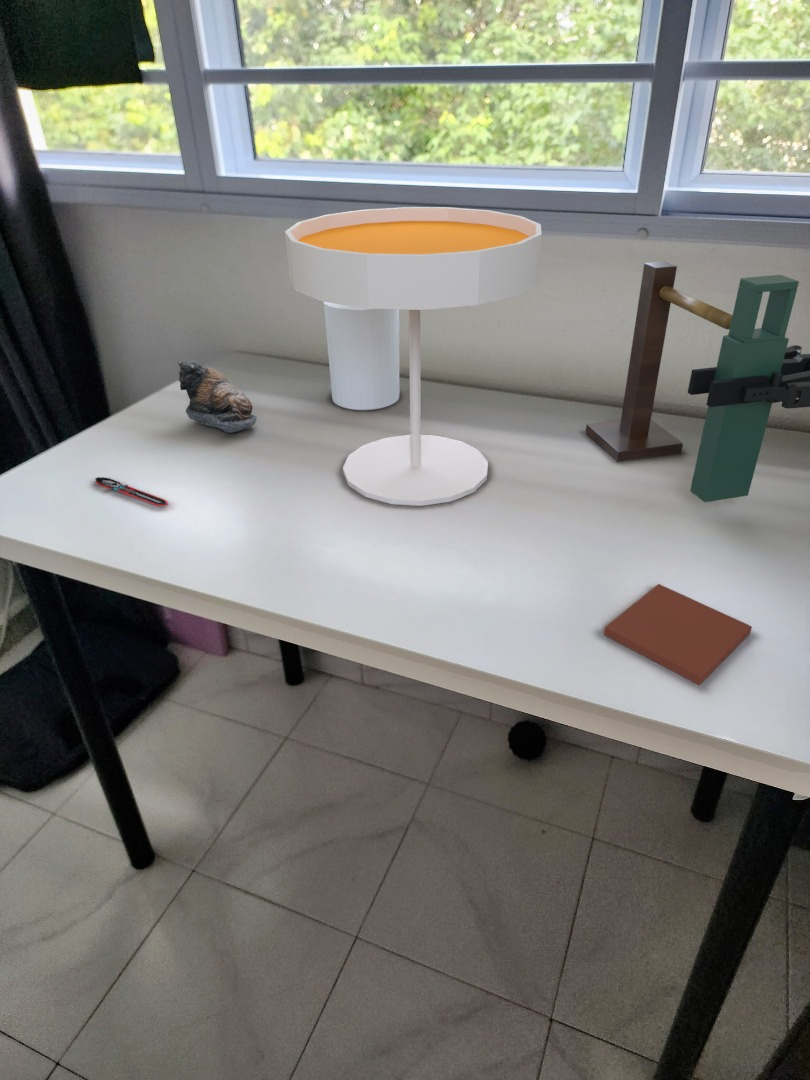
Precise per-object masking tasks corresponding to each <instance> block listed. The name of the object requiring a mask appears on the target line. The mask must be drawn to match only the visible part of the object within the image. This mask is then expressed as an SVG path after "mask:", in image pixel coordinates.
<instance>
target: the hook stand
mask: <svg viewBox="0 0 810 1080" xmlns="http://www.w3.org/2000/svg"><path fill="white" fill-rule="evenodd" d="M677 269H678V266H677V265H675V264H672V263H669V262H668V261H665V260H663V261H651V262H650V261H649V262H643V269H642V276H641V282H640V288H639V289H640V290H639V295H638V303H637V309H636V316H635V322H634V323H635V324H634V329H633V335H632V336H633V337H632V341H631V349H630V357H629V363H628V370H627V377H626V383H625V389H624V398H623V403H622V410H621V416H620V419H616V420H606V421H600V422H591V423H586V426H585V434H586V435H587V436H588V437H589V438H591V439H592V440H593V441H594V442H595V444H597V445H598V446H599V447H601V448H602V449H603V450H604V451H605V452H606V453H607V454H608V455H609V456H611V457H612V459H614V460H615V461H616V462H624V461H632V460H639V459H646V458H653V457H660V456H661V457H662V456H667V455H676V454H681V453H682V451H683V446H684V442H682V441H681V440H679V439H678V438H677V437H675V435H672V434H671V433H670V432H668V430H666V429H665V428H664V427H662V426H661V425H660V424H659V423H657V422H655V421H654V420H652V416H653V415H652V414H653V409H654V402H655V397H656V392H657V385H658V381H659V380H658V379H659V374H660V369H661V364H662V363H661V362H662V358H663V357H662V356H663V350H664V346H665V345H664V344H665V339H666V333H667V328H668V323H669V316H670V310H671V305H675V306H677V307H679V308H681V309H683V310H686V311H687V312H689V313H691V314H693V315H696V316H697V317H700V318H702V319H704V320H706V321H708V322H710V323H711V324H714V325H716V326H718V327H720V328H722V329H724V330H729V329H730V325H731V320H732V316H733V314H732V313H729V312H726V311H724V310H722V309H720V308H717V307H715V306H713V305H711V304H709V303H706V302H705V301H702V300H700V299H698V298H695V297H693V296H691V295H688V294H687V293H684V292H682V291H680V290H677V289H675V288H674V287H675V280H676V275H677V271H678V270H677Z"/></svg>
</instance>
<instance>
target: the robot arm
mask: <svg viewBox="0 0 810 1080" xmlns="http://www.w3.org/2000/svg"><path fill="white" fill-rule="evenodd" d="M802 348H803V347H802V346H800V345H798V344H795V345H790V346H787V348H786V352H785V356H784V360H783V364H782V368H781V371H780V373H777V372H776V373H775V371H774V372H773V373H772V377H771V381H770V383H767V382H768V378H769V377H767V376H765V375H760V376H752V377H743V378H734V379H725V380H716V381H714V377H715V372H716V368H717V366H712V367H704V368H695V369H691V373H690V377H689V383H688V388H687V394H688V395H691V396H695V395H704V394H705V395H706V394H708V395H707V400H706V403H705V404H706V406H707V407H708V406H709V407H717V406H725V405H733V404H741V403H749V402H757V401H763V400H766V401H767V402H770V403H772V404H776V403H781V407H782V408H784V409H800V408H802V409H803V408H810V353H802Z"/></svg>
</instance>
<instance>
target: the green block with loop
mask: <svg viewBox="0 0 810 1080" xmlns="http://www.w3.org/2000/svg"><path fill="white" fill-rule="evenodd" d="M799 284H800V281H799V280H796V279H794V278H792V277H791V278H790V277H788V276H785V275H782V274H776V275H761V276H749V277H740V278H739V283H738V289H737V292H736V293H737V294H736V298H735V302H734V305H733V306H734V307H733V312H732V315H733V316H732V320H731V325H730V329H728V333H727V334H725V335H722V339H721V345H720V349H719V353H718V359H717V363H716V367H717V368H716V372H715V377H714V381H716V380H725V379H734V378H743V377H752V376H760V375H765V376H767V377H769V378H768V382H767V383H770V381H771V377H772V373H773V372H774V371H775V373H776V372H777V373H780V371H781V368H782V364H783V360H784V356H785V352H786V348H788V345H789V341H790V338H789V337H786V334H787V330H788V326H789V321H790V319H791V314H792V310H793V307H794V304H795V299H796V295H797V291H798V287H799ZM768 292H769V293H768ZM764 293H768V299H767V303H766V306H765V311H764V316H763V319H762V323H761V327H759V328H756V325H757V320H758V315H759V311H760V307H761V302H762V299H763V295H764ZM772 405H773V403H770V402H767V401H766V400H763V401H757V402H749V403H741V404H733V405H725V406H717V407H709V406H707V410H706V415H705V419H704V424H703V428H702V434H701V438H700V443H699V448H698V451H697V457H696V462H695V466H694V471H693V475H692V480H691V485H690V489H689V490H690V491H689V492H691V493H692V494H693V495H694V496H696V497H697V498H698V499H699V500H700V501H701V502H703V503H710V502H715V501H722V500H729V499H735V498H742V497H747V496H749V493H750V490H751V485H752V482H753V478H754V474H755V470H756V467H757V463H758V459H759V455H760V451H761V449H762V443H763V440H764V435H765V432H766V428H767V425H768V421H769V417H770V413H771V409H772Z"/></svg>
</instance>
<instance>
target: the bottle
mask: <svg viewBox="0 0 810 1080" xmlns="http://www.w3.org/2000/svg"><path fill="white" fill-rule="evenodd" d="M323 311H324V312H323V313H324V323H325V333H326V346H327V354H328V355H327V356H328V357H327V358H328V364H329V365H328V367H329V379H330V390H331V398H332V402H333V403H334V404H335V405H337V406H338V407H341V408H344V409H348V410H356V411H369V410H370V411H371V410H372V411H373V410H378V409H379V410H380V409H383V408H386V407H389V406H392V405H393V404H395V403H397V402H398V401H399V399H400V309H368V308H361V307H355V306H348V305H341V304H335V303H328V302H323Z"/></svg>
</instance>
